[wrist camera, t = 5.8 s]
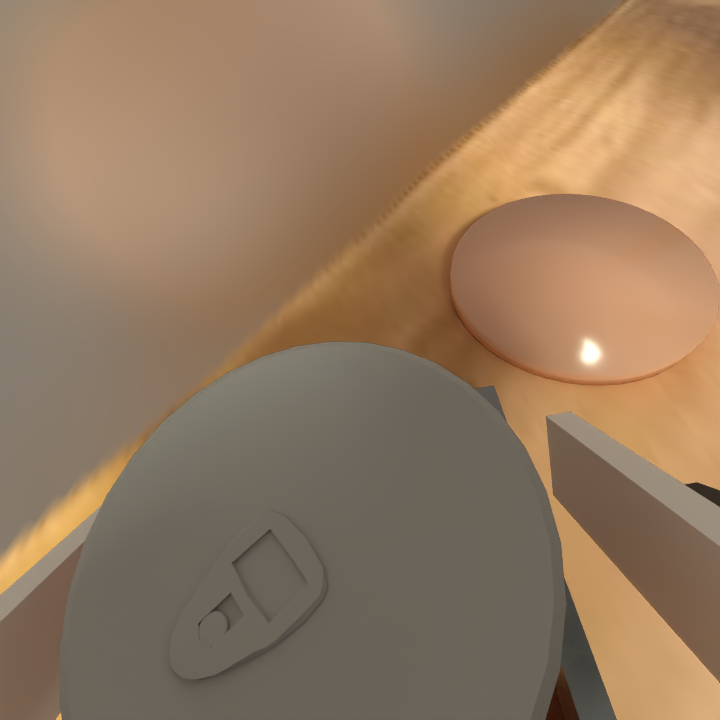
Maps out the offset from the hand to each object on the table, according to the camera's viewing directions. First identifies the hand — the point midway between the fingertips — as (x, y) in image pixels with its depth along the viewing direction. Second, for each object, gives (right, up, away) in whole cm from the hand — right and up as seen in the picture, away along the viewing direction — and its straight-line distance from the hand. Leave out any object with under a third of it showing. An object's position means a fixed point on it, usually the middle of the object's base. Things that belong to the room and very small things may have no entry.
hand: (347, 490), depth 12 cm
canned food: (+1, -5, +3) cm, 6 cm away
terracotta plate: (+12, +9, +9) cm, 18 cm away
